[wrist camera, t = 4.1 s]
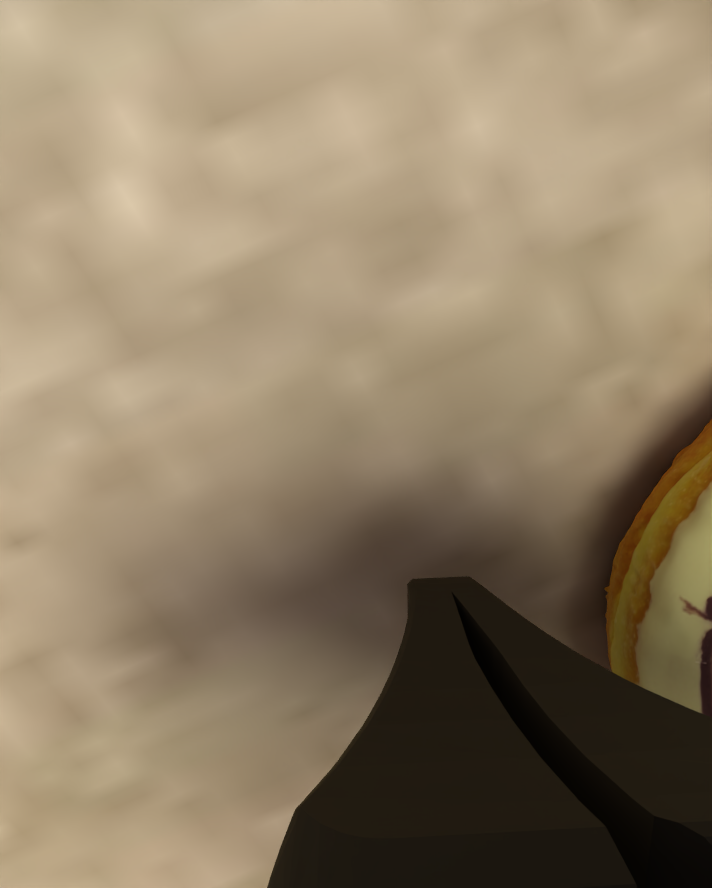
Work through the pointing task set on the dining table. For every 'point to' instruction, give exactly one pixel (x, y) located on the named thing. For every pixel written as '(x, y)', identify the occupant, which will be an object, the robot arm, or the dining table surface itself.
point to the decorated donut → (668, 586)
